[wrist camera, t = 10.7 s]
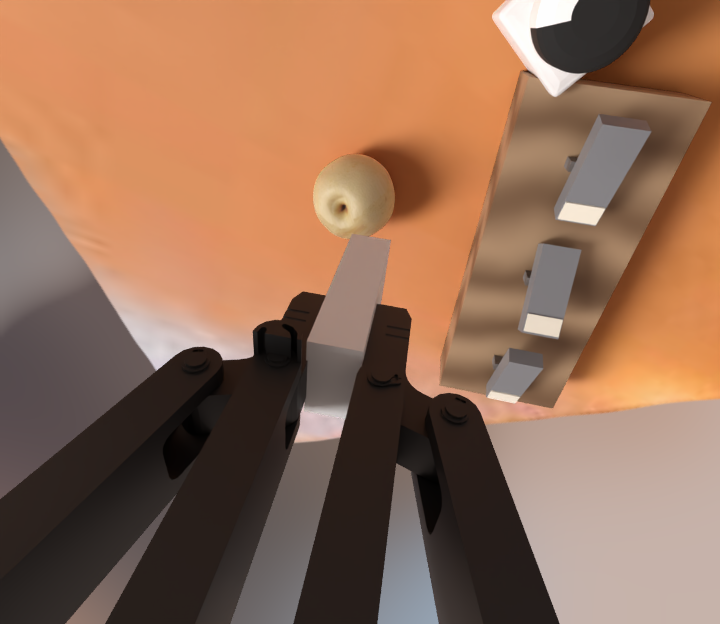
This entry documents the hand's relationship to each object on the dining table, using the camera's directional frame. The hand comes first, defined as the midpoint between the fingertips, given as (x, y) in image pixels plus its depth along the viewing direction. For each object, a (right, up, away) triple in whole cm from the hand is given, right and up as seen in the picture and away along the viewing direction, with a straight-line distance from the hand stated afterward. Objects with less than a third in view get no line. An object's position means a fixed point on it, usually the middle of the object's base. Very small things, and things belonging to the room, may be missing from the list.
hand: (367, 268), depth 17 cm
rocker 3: (+18, +9, +16) cm, 25 cm away
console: (+18, +4, +28) cm, 33 cm away
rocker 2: (+17, 0, +22) cm, 27 cm away
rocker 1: (+15, -8, +28) cm, 33 cm away
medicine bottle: (+15, +22, +17) cm, 32 cm away
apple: (0, +11, +27) cm, 30 cm away
